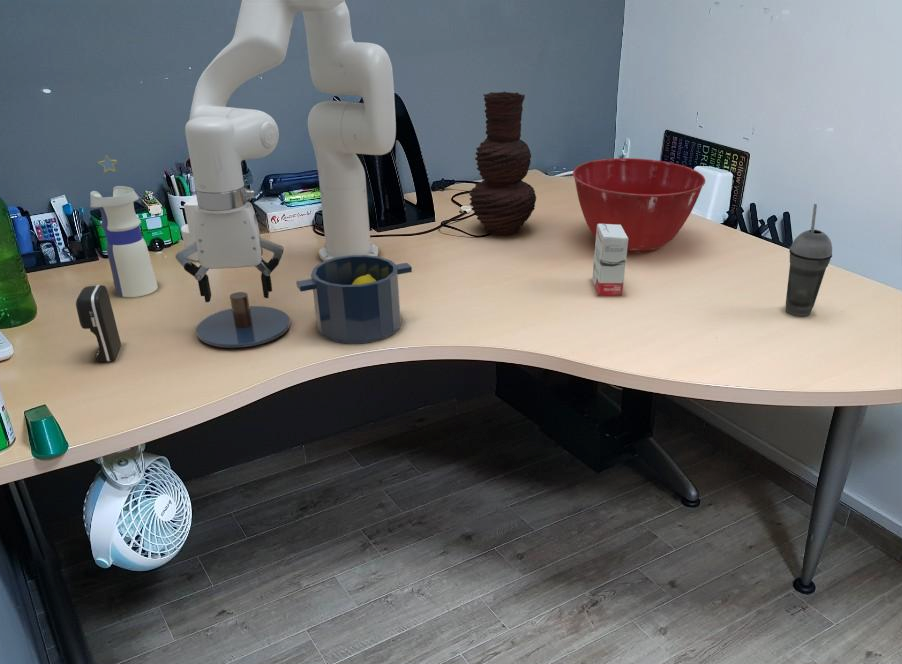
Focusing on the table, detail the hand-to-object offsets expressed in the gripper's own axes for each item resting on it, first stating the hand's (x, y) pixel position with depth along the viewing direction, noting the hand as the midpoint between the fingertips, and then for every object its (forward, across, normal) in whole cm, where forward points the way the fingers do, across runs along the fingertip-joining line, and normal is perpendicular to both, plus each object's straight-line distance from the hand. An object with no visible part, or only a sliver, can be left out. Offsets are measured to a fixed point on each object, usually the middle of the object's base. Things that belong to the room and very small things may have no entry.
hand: (237, 297), depth 138 cm
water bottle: (+6, +22, -23) cm, 33 cm away
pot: (+6, -20, +2) cm, 21 cm away
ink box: (+6, -69, -6) cm, 70 cm away
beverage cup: (+6, -100, +12) cm, 101 cm away
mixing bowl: (+6, -83, -30) cm, 89 cm away
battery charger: (+7, +22, +5) cm, 23 cm away
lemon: (+5, -20, +1) cm, 21 cm away
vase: (+6, -56, -44) cm, 72 cm away
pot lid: (+6, 0, 0) cm, 6 cm away
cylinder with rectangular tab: (+6, +10, -41) cm, 43 cm away
